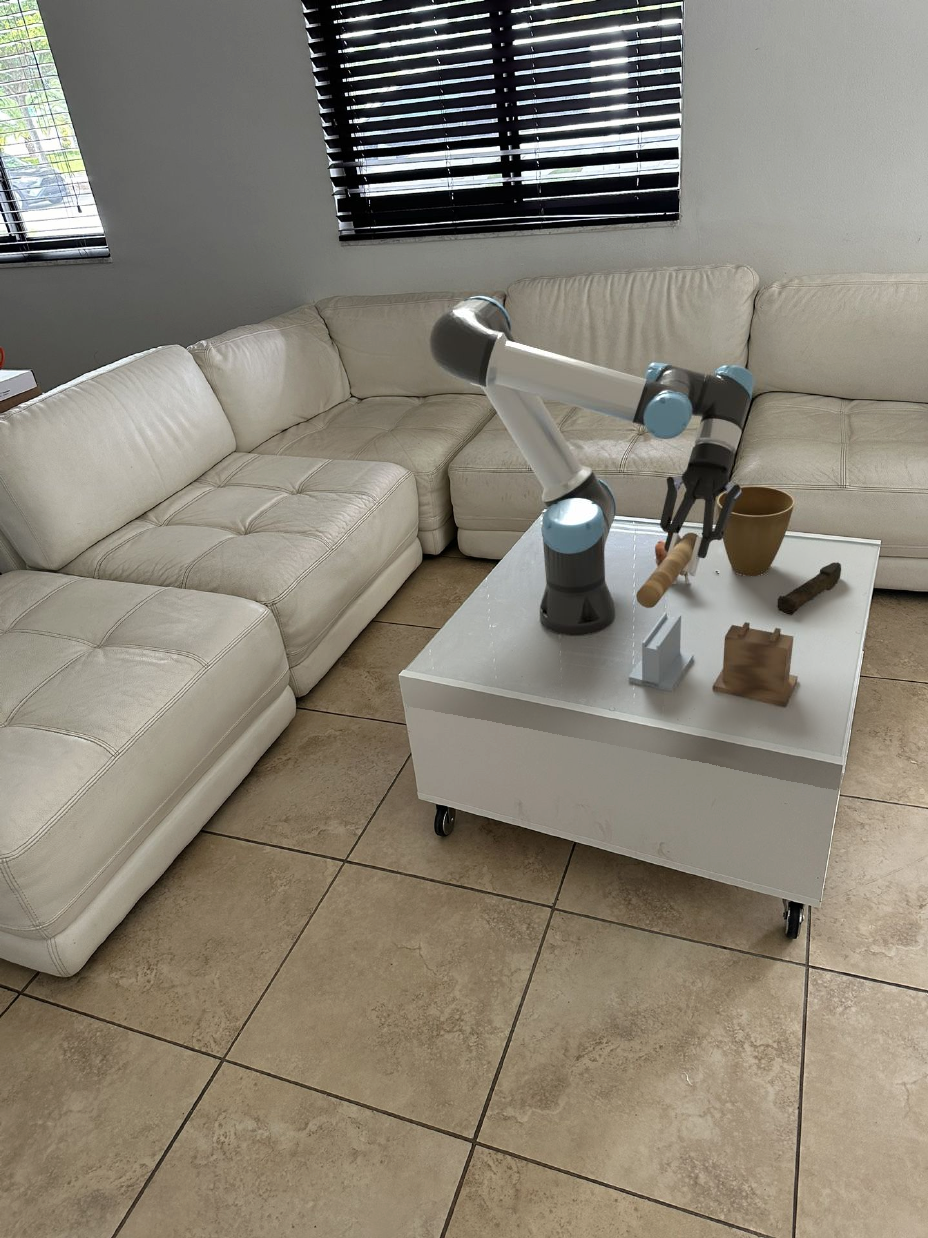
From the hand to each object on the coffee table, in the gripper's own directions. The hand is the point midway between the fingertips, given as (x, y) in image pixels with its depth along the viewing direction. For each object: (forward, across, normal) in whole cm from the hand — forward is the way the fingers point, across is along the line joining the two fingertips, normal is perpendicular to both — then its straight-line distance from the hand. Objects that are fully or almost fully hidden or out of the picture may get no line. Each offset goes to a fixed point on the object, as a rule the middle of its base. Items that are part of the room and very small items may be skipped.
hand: (679, 571), depth 143 cm
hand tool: (-8, -18, -31) cm, 37 cm away
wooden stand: (+16, -16, -6) cm, 24 cm away
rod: (+2, 0, +4) cm, 5 cm away
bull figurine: (-6, +9, -29) cm, 31 cm away
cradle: (+17, 0, -6) cm, 18 cm away
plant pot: (-13, -4, -36) cm, 38 cm away
